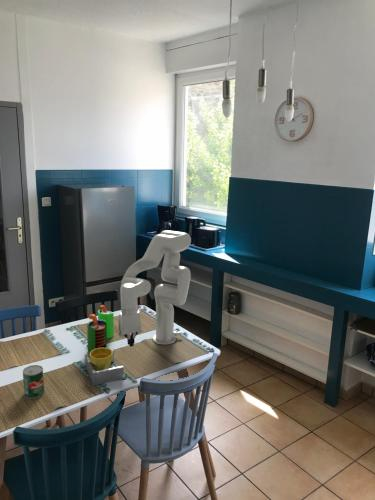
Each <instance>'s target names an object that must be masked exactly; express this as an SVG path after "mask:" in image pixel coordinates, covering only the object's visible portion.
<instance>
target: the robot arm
mask: <svg viewBox="0 0 375 500" xmlns="http://www.w3.org/2000/svg"><path fill="white" fill-rule="evenodd" d="M191 243H192V238H191V235H190V234H189V233H187V232H183V231H176V230H168V229H167V230H162V231H160V233H158V234H156V235H154V236H153V237H152V239H151V241H150V243H149V245H148V246H147V248H146V251H145V252H144V255H143V256H142V258H140V259H138V260H137V261H135V262H134V263H132V264H131V265H130V266H128V268H127V269H126V271H125V273H124V275H123V277H122V279H121V283H120V309H121V310H120V312H119V315H118V331H119V333H118V335H119V337H125V339H127V340H126V342H127V345H128V346H129V347H130V348H131V347H134V346H135V343H136V342H135V338H136V336H137V335H138V334H140V333H142V332H143V330H142V327H143V326H142V319H141V318H142V317H141V313H140V309H141V308H142V307H141V305H140V304H139V305H138V298H140V297H143V296H146V295H148V294H149V292H150V291H151V289H152V284H151V282H150V281H149V280H147V279H144V278H139V277H137V275H138V274H140V273H142V272H144V271H148V270H151V269H155V268H158V266H160V263H161V261H162V259H163V261H162V262H163V263H162V268H161V273H160V277H161V280H162V281H164V282H168V283H172V284H177V285H172V284H167V283H160V284H158V285H156V286H155V288H154V293H153V294H154V300H155V334H154V335H153V336H152V341H153V342H154V344H158V345H162V346H163V345H165V346H167V345H172V344H173V343H174V344H175V342H176V341H177V336H181V335H183V333H182V331H181V330H180V331H178V329H175V330H174V324H175V323H174V321H175V310H174V305H175V306H183V305H184V304H185V303H186V301H187V299H188V298H187V297H188V293H189V287H190V283H191V278H192V277H191V275H192V274H191V270H190V268H189V267H187V266H183V265H180V261H181V254H180V252H183V251H185V250H187V249H189V247H190V246H191Z"/></svg>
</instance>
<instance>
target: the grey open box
mask: <svg viewBox="0 0 375 500" xmlns="http://www.w3.org/2000/svg"><path fill="white" fill-rule="evenodd" d="M111 350H112V352H113V359H112V361H111V363H114V362H115V350H114V349H111ZM84 358H85V359H84V360H85V361H84V362H85V363H84V364H85V368H86V371H87V373H88V375H89V377H90V380H91V383H92V385H93V386H97V385H102V384H107V383H110V382H111V383H112V382H115V381H119V380H124V376H125V375H124V374H125V373H124V372H125V370H124V365H118V366H114V367H110V368H109V369H104V370H99V371H95V369H94V367H93V365H92V363H91V362H90V354H88V353H87V354H84Z"/></svg>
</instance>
